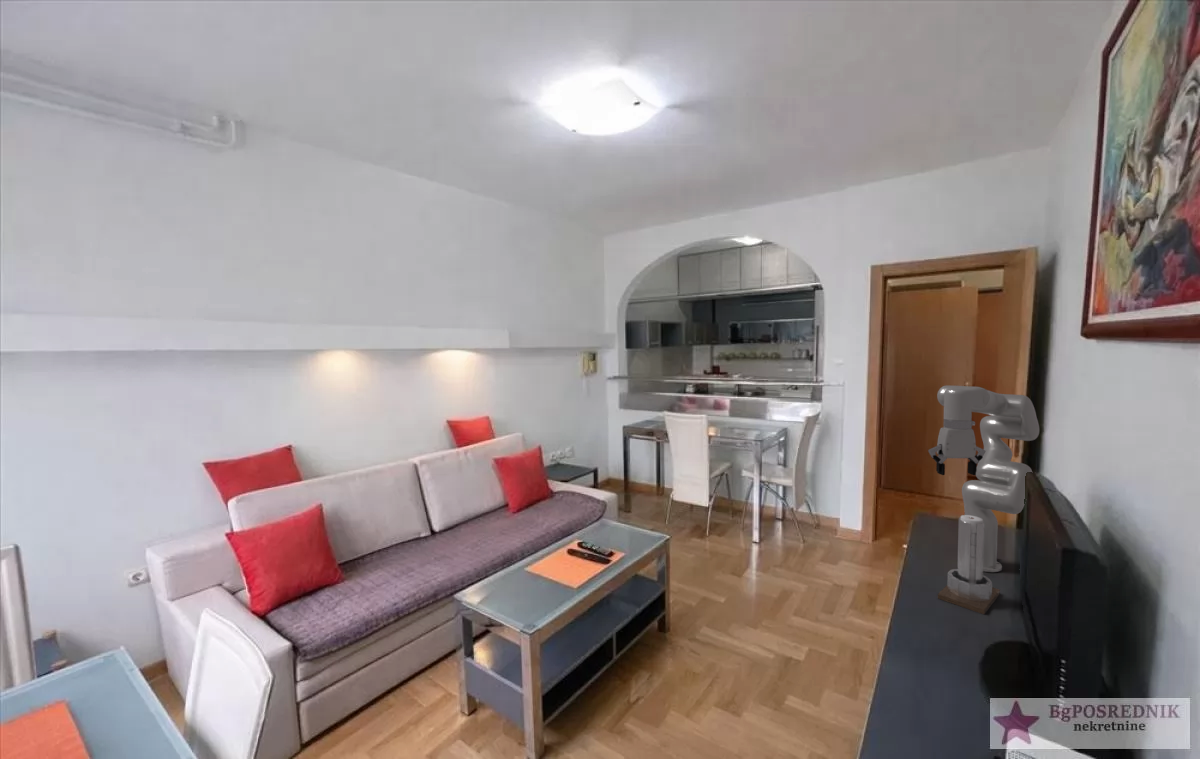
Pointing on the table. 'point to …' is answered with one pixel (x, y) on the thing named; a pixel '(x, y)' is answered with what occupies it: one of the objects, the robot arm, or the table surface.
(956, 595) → the duct collar
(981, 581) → the silver long cylinder
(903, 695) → the table surface
